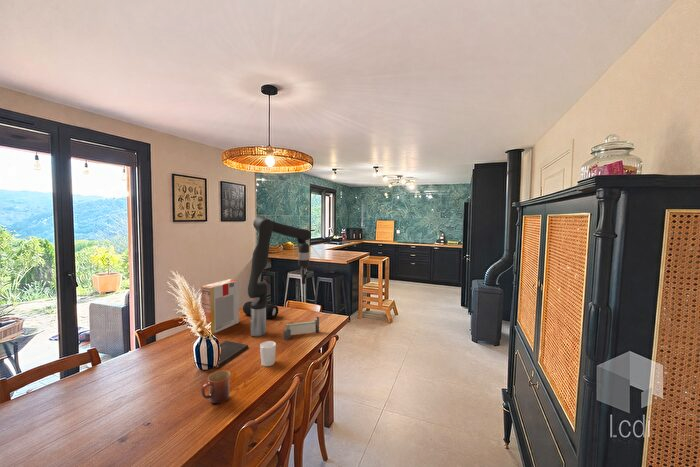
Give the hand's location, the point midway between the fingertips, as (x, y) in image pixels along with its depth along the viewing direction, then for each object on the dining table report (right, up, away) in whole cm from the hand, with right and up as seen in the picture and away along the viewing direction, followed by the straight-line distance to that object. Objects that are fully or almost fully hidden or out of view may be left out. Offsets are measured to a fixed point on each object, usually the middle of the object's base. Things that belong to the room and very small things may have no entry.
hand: (303, 283), depth 198 cm
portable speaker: (-35, -28, +17) cm, 47 cm away
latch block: (-7, -30, -20) cm, 37 cm away
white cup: (-10, -33, -49) cm, 60 cm away
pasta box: (-54, -29, -5) cm, 62 cm away
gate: (+1, -30, -14) cm, 33 cm away
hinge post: (+11, -30, -10) cm, 33 cm away
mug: (-23, -35, -80) cm, 90 cm away
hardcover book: (-37, -32, -42) cm, 64 cm away
